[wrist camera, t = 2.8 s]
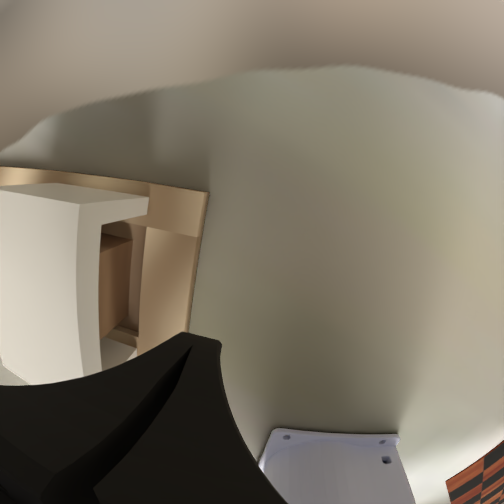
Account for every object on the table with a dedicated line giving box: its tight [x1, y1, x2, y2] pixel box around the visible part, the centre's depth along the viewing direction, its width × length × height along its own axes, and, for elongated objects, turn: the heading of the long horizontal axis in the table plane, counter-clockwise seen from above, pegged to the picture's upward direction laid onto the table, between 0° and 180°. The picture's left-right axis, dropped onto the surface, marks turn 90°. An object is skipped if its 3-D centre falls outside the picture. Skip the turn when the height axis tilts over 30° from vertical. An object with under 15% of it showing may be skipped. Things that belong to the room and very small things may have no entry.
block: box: [98, 233, 133, 340], centre depth 12 cm, size 4×4×4 cm
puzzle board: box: [0, 166, 210, 356], centre depth 14 cm, size 17×12×1 cm
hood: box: [0, 183, 149, 385], centre depth 11 cm, size 6×9×5 cm
